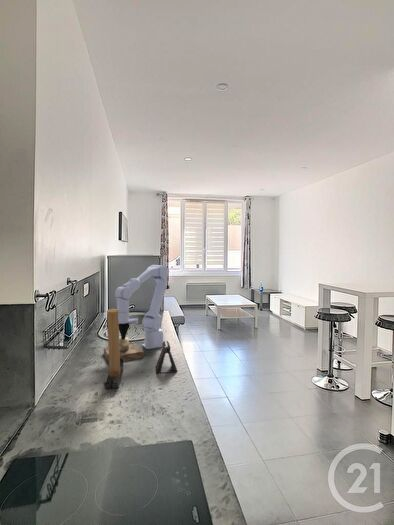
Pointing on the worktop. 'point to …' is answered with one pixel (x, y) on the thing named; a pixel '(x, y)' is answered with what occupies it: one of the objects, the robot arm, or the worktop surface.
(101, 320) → the worktop surface
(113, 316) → the hammer
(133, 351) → the board
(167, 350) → the dark a-frame stand
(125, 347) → the peg
